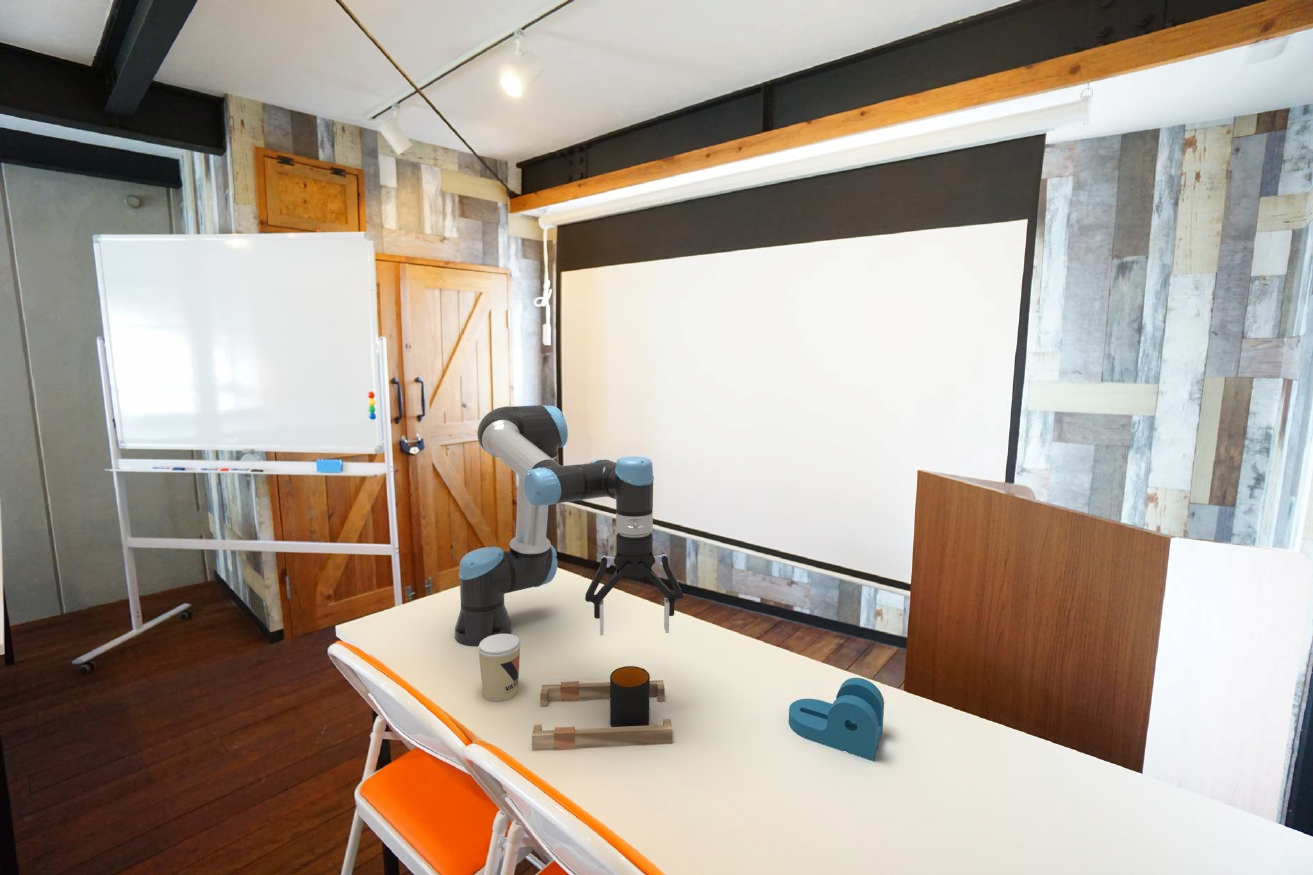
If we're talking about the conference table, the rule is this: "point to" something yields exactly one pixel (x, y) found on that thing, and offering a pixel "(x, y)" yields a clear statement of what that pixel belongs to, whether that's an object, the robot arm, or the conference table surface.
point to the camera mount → (843, 719)
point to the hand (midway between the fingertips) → (634, 631)
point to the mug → (629, 697)
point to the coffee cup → (499, 666)
